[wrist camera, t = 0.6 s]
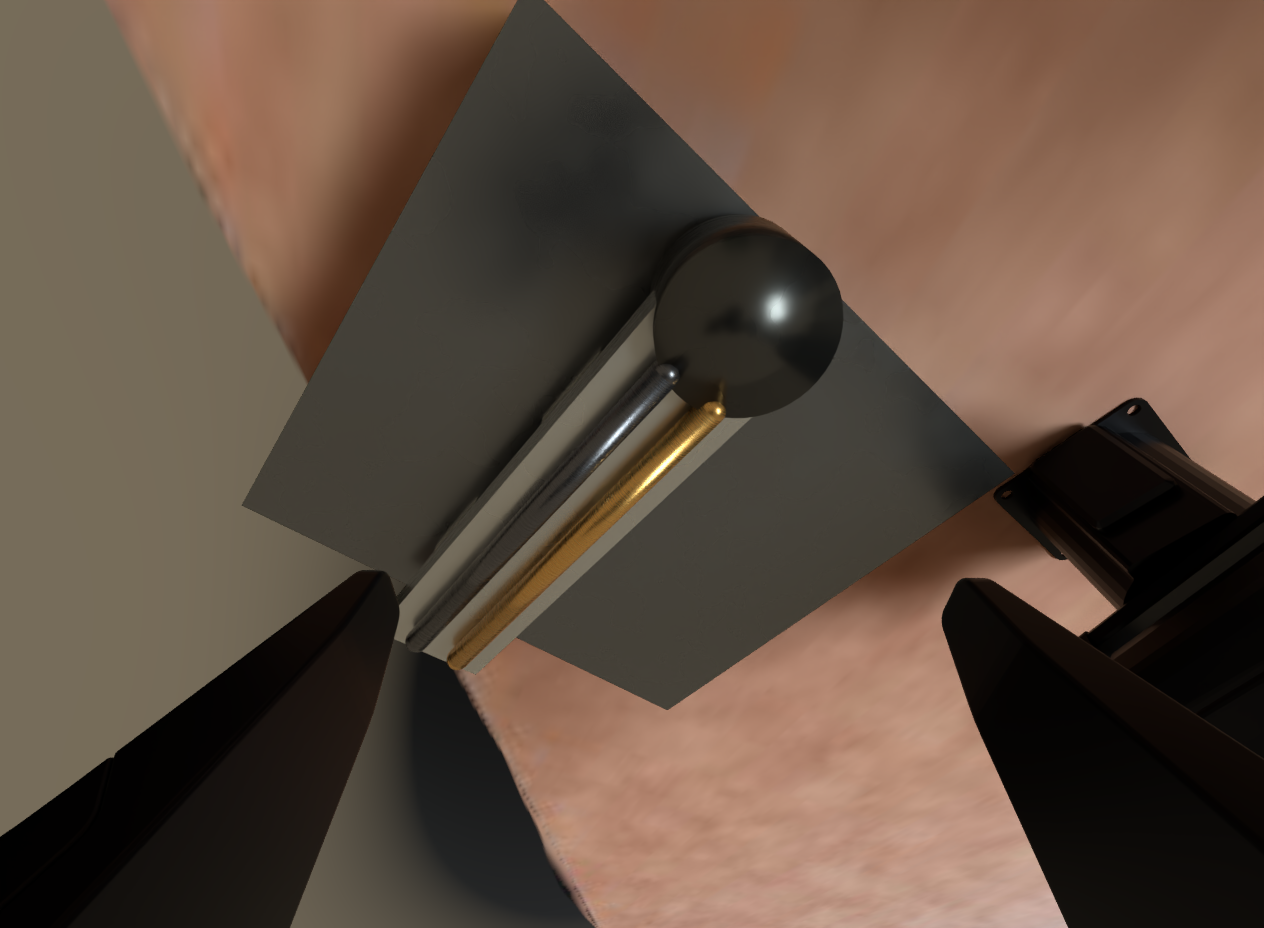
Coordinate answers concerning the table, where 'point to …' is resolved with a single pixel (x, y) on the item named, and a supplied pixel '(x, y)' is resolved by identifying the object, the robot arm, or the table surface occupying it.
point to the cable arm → (630, 431)
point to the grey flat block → (560, 354)
